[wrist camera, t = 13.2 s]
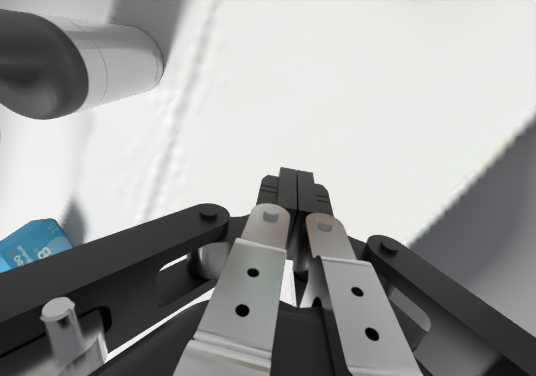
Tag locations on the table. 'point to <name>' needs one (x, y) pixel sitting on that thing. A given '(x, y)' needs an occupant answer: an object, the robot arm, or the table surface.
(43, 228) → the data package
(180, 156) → the table surface
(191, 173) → the table surface
